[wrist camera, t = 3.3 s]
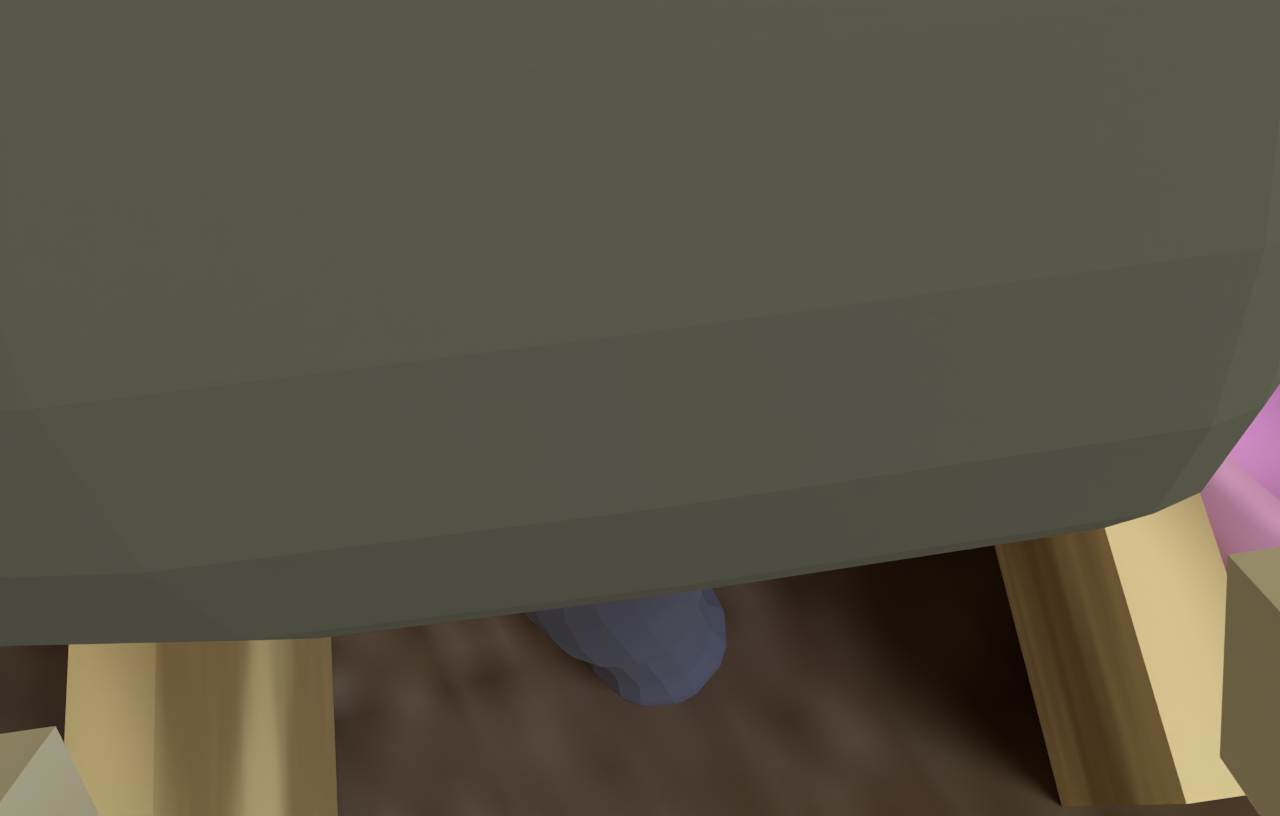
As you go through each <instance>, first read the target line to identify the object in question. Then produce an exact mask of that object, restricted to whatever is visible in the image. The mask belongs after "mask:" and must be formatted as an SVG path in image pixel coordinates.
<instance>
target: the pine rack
mask: <svg viewBox="0 0 1280 816" xmlns="http://www.w3.org/2000/svg"><path fill="white" fill-rule="evenodd" d="M994 546H995V550H996V554H997V558H998V562H999V565H1000V569H1001V573H1002V577H1003V581H1004V585H1005V589H1006V593H1007V596H1008V600H1009V604H1010V608H1011V612H1012V616H1013V620H1014V623H1015V627H1016V631H1017V635H1018V639H1019V643H1020V647H1021V651H1022V654H1023V658H1024V662H1025V666H1026V670H1027V674H1028V678H1029V682H1030V685H1031V689H1032V693H1033V697H1034V701H1035V705H1036V709H1037V713H1038V716H1039V720H1040V724H1041V728H1042V732H1043V736H1044V740H1045V744H1046V747H1047V751H1048V755H1049V759H1050V763H1051V767H1052V771H1053V775H1054V778H1055V782H1056V786H1057V790H1058V794H1059V798H1060V802H1061V806H1062V807H1075V806H1116V805H1158V804H1189V803H1196V802H1202V801H1209V800H1216V799H1223V798H1230V797H1237V796H1244V795H1245V793H1244V792H1243V790H1242V789H1241V787H1240V786H1239V784H1238V783H1237V781H1236V780H1235V778H1234V777H1233V776H1232V774H1231V773H1230V771H1229V770H1228V768H1227V767H1226V765H1225V764H1224V762H1223V761H1222V759H1221V758H1220V738H1221V713H1222V688H1223V663H1224V638H1225V613H1226V588H1227V573H1226V570H1225V567H1224V564H1223V561H1222V558H1221V555H1220V552H1219V549H1218V546H1217V543H1216V540H1215V537H1214V534H1213V531H1212V528H1211V525H1210V522H1209V519H1208V516H1207V513H1206V509H1205V506H1204V503H1203V500H1202V497H1201V494H1200V493H1198V494H1196V495H1194V496H1192V497H1189V498H1187V499H1185V500H1183V501H1180V502H1178V503H1176V504H1174V505H1172V506H1169V507H1167V508H1165V509H1163V510H1161V511H1158V512H1156V513H1154V514H1151V515H1147V516H1144V517H1140V518H1137V519H1133V520H1130V521H1126V522H1123V523H1119V524H1116V525H1112V526H1109V527H1106V528H1102V529H1097V530H1091V531H1084V532H1078V533H1071V534H1065V535H1058V536H1052V537H1045V538H1039V539H1032V540H1026V541H1019V542H1013V543H1006V544H999V545H994ZM64 744H65V746H66V748H67V750H68V752H69V755H70V757H71V759H72V761H73V763H74V765H75V767H76V769H77V771H78V773H79V775H80V777H81V779H82V781H83V783H84V785H85V787H86V789H87V791H88V793H89V795H90V798H91V800H92V802H93V804H94V806H95V808H96V810H97V812H98V814H99V816H338V807H337V780H336V754H335V728H334V701H333V675H332V648H331V637H326V638H312V639H280V640H248V641H206V642H162V643H117V644H73V645H69V650H68V672H67V694H66V715H65V737H64Z"/></svg>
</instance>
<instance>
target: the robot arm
mask: <svg viewBox="0 0 1280 816" xmlns="http://www.w3.org/2000/svg"><path fill="white" fill-rule="evenodd" d="M1220 758H1221V759H1222V761H1223V762H1224V764H1225V765H1226V767H1227V768H1228V770H1229V771H1230V773H1231V774H1232V776H1233V777H1234V778H1235V780H1236V781H1237V783H1238V784H1239V786H1240V787H1241V789H1242V790H1243V792H1244V793H1245V795H1246V796H1247V797H1248V799H1249V800H1250V802H1251V803H1252V805H1253V806H1254V808H1255V809H1256V811H1257V812H1258V813H1259V815H1260V816H1280V547H1277V548H1270V549H1263V550H1256V551H1250V552H1243V553H1236V554H1229V555H1228V563H1227V588H1226V613H1225V638H1224V663H1223V688H1222V713H1221V738H1220ZM0 816H99V814H98V812H97V810H96V808H95V806H94V804H93V802H92V800H91V798H90V795H89V793H88V791H87V789H86V787H85V785H84V783H83V781H82V779H81V777H80V775H79V773H78V771H77V769H76V767H75V765H74V763H73V761H72V759H71V757H70V755H69V752H68V750H67V748H66V746H65V744H64V742H63V740H62V738H61V736H60V734H59V732H58V730H57V728H56V726H52V727H45V728H38V729H31V730H25V731H18V732H11V733H4V734H0Z"/></svg>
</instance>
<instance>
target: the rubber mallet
mask: <svg viewBox="0 0 1280 816" xmlns="http://www.w3.org/2000/svg"><path fill="white" fill-rule="evenodd" d="M1279 384H1280V0H0V646H29V645H73V644H117V643H162V642H206V641H248V640H280V639H312V638H326V637H334V636H342V635H350V634H358V633H366V632H374V631H381V630H389V629H397V628H405V627H413V626H421V625H429V624H437V623H445V622H453V621H461V620H469V619H477V618H485V617H493V616H501V615H509V614H517V613H524V614H525V615H526V616H527V617H528V618H529V619H530V620H531V621H532V622H533V623H534V624H536V625H537V626H538V627H539V628H540V629H541V630H542V631H543V632H544V633H545V634H546V635H547V636H548V637H550V638H551V639H552V640H553V641H554V642H555V643H556V644H557V645H558V646H559V647H560V648H561V649H563V650H564V651H565V652H566V653H567V654H568V655H570V656H572V657H574V658H576V659H579V660H582V661H585V662H588V663H590V664H591V666H592V669H593V671H594V672H595V673H596V674H597V675H598V676H599V677H600V678H601V679H602V680H603V681H604V682H605V683H607V684H608V685H609V686H610V687H611V688H612V689H613V690H614V691H615V692H616V693H617V694H618V695H619V696H621V697H622V698H623V699H624V700H627V701H630V702H632V703H635V704H638V705H641V706H656V705H671V704H678V703H680V702H682V701H684V700H686V699H688V698H690V697H692V696H694V695H696V694H697V693H698V692H699V690H700V689H701V688H702V687H703V686H704V685H705V683H706V682H707V681H708V680H709V679H710V677H711V676H712V675H713V674H714V673H715V672H716V670H717V669H718V668H719V667H720V666H721V663H722V660H723V656H724V653H725V650H726V647H727V639H726V626H725V613H724V610H723V608H722V606H721V604H720V602H719V600H718V598H717V596H716V594H715V592H714V590H713V589H712V588H718V587H725V586H732V585H738V584H745V583H751V582H758V581H764V580H771V579H777V578H784V577H790V576H797V575H803V574H810V573H816V572H823V571H830V570H836V569H843V568H849V567H856V566H862V565H869V564H875V563H882V562H888V561H895V560H901V559H908V558H914V557H921V556H928V555H934V554H941V553H947V552H954V551H960V550H967V549H973V548H980V547H986V546H993V545H999V544H1006V543H1013V542H1019V541H1026V540H1032V539H1039V538H1045V537H1052V536H1058V535H1065V534H1071V533H1078V532H1084V531H1091V530H1097V529H1102V528H1106V527H1109V526H1112V525H1116V524H1119V523H1123V522H1126V521H1130V520H1133V519H1137V518H1140V517H1144V516H1147V515H1151V514H1154V513H1156V512H1158V511H1161V510H1163V509H1165V508H1167V507H1169V506H1172V505H1174V504H1176V503H1178V502H1180V501H1183V500H1185V499H1187V498H1189V497H1192V496H1194V495H1196V494H1198V493H1200V492H1201V491H1202V490H1203V489H1204V487H1205V486H1206V485H1207V483H1208V482H1209V481H1210V479H1211V478H1212V476H1213V475H1214V474H1215V472H1216V471H1217V470H1218V468H1219V467H1220V466H1221V464H1222V463H1223V462H1224V460H1225V459H1226V457H1227V456H1228V455H1229V453H1230V452H1231V451H1232V449H1233V448H1234V447H1235V445H1236V444H1237V442H1238V441H1239V440H1240V438H1241V437H1242V436H1243V434H1244V433H1245V432H1246V430H1247V429H1248V427H1249V426H1250V425H1251V423H1252V422H1253V421H1254V419H1255V418H1256V417H1257V415H1258V414H1259V412H1260V411H1261V410H1262V408H1263V407H1264V406H1265V404H1266V403H1267V401H1268V400H1269V399H1270V397H1271V396H1272V394H1273V393H1274V391H1275V390H1276V388H1277V387H1278V386H1279Z"/></svg>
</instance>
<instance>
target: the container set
mask: <svg viewBox="0 0 1280 816" xmlns="http://www.w3.org/2000/svg"><path fill="white" fill-rule="evenodd" d="M1200 494H1201V497H1202V500H1203V503H1204V506H1205V509H1206V513H1207V516H1208V519H1209V522H1210V525H1211V528H1212V531H1213V534H1214V537H1215V540H1216V543H1217V546H1218V549H1219V552H1220V555H1221V558H1222V561H1223V564H1224V567H1225V570H1226V573H1227V563H1228V555H1229V554H1236V553H1243V552H1250V551H1256V550H1263V549H1270V548H1277V547H1280V384H1279V386H1278V387H1277V388H1276V390H1275V391H1274V393H1273V394H1272V396H1271V397H1270V399H1269V400H1268V401H1267V403H1266V404H1265V406H1264V407H1263V408H1262V410H1261V411H1260V412H1259V414H1258V415H1257V417H1256V418H1255V419H1254V421H1253V422H1252V423H1251V425H1250V426H1249V427H1248V429H1247V430H1246V432H1245V433H1244V434H1243V436H1242V437H1241V438H1240V440H1239V441H1238V442H1237V444H1236V445H1235V447H1234V448H1233V449H1232V451H1231V452H1230V453H1229V455H1228V456H1227V457H1226V459H1225V460H1224V462H1223V463H1222V464H1221V466H1220V467H1219V468H1218V470H1217V471H1216V472H1215V474H1214V475H1213V476H1212V478H1211V479H1210V481H1209V482H1208V483H1207V485H1206V486H1205V487H1204V489H1203V490H1202V491H1201V492H1200Z"/></svg>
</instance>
